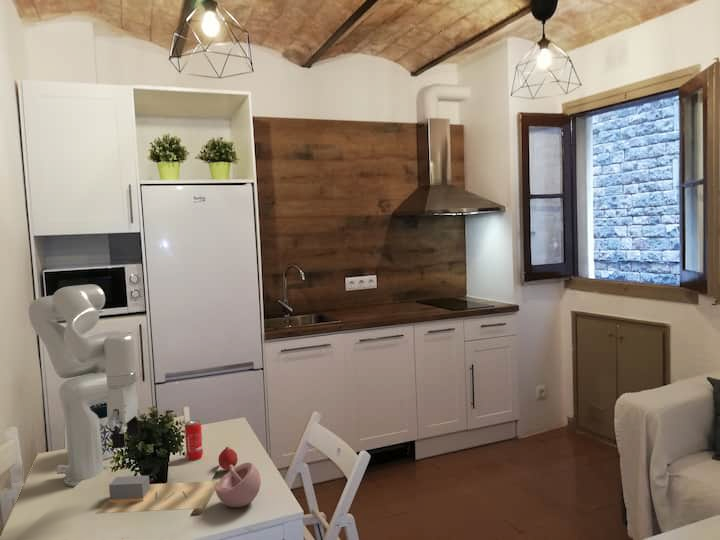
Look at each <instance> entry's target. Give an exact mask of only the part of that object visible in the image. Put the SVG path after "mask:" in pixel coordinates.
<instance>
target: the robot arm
mask: <svg viewBox="0 0 720 540" xmlns="http://www.w3.org/2000/svg"><path fill="white" fill-rule="evenodd" d="M105 303H106V296H105V292H104V291H103V289H102V288H101V287H100V286H99V285H97V284H93V283H92V284H89V283H88V284H79V285H71V286H64V287H61V288H59V289H57V290H56V291H55V292H54V293H53V294H52V295H48V296H47V295H46V296H41V297H38V298H36V299H34V300H32V301H31V303H30V304H29V307H28V318H29V321H30V323H31V324H30V325H31V326H32V327H31V328H33V330H34V332H35V333H36V335H37V336H38V338H39V339H40V340H41V341H42V343H43V344H44V347H45V348H46V351H47V353H48V357H49V359H50V361H51V364H52V367H53V370H54V372H55V374H56V375H57V377H59V378H60V379H68V380H66V381H65V382H63V383H62V384H61V385H60V387H59V389H58V397H59V401H60V405H61V408H62V413H63V418H64V427H65V428H64V429H65V438H66V439H65V440H66V448H67V450H66V451H67V463H68V464H58V465H57V468H56V473H57V475H62V474H63V475H65V476H64V478H63V483H64V484H65V485H66V486H69V487H77V486H78V484H80V483H81V482H82V481H84V480H88V479H89V480H90V479H92V478H95V477H98V476H100V475H101V474H102V473H103V472H104V471H107V470H110V468H109V467H107V466H105V465H104V460H103V456H102V443H101V430H100V420H99V418H98V416H97V415H96V414H95V413H94V412H93V411H92V410H91V409H90V408H92V407H93V406H96V405H100V404H103V403H106V406H107V420H108V424H109V427H110V428H109V429H110V431H111V434H112V445H113V448H124V447H125V448H126V435H125V434H124V432H125V431H124V432H123V428H124V429H125V425H126V427H127V428H126V429H127V435H128V436H136V435H138V436H139V435H140V433H141V431H140V430H141V429H140V415H139V412H140V409H139V407H140V402H139V400H138V399H139V397H138V390H137V384H138V379H137V377H138V375H137V364H136V354H135V353H136V352H135V340H134V336H133V335H131V334H129V333H124V332H122V331H120V330H112V331H111V330H110V331H105V332H99V333H92V334H91V333H90V334H87V335H85V334H86V333H87V332H90V331H91V330H92V329H93V328H95V326H96V325H97V324H98V322H99V319H100V313H99V311H100V310H102V309H103V308H104V307H105ZM63 321H65V322H66V323H67V324H66V326H63V325H61V324H60V323H59V322H63ZM116 421H119V422H116ZM116 425H120V428H119V427H118V426H116Z"/></svg>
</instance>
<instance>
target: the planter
mask: <svg viewBox="0 0 720 540" xmlns="http://www.w3.org/2000/svg"><path fill="white" fill-rule="evenodd" d="M90 409H91V410H92V411H93V412H94V413H95V414H96V415H97V416H98V418H99V420H100V430H101V443H102V456H103V461H105V460H108V459H112V458H114V457H113V451H114V450H115V449H116V448H109V447H108V445H109V444H112V434H111V431H110V429H109V428H110V427H109V424H108V420H107V405H100V406H99V405H98V406H95V407H93V406H92V407H90ZM116 422H119V421H116ZM116 426H118V427H119V428H120V425H116ZM123 432H125V427H124V428H123Z"/></svg>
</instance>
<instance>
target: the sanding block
mask: <svg viewBox="0 0 720 540" xmlns="http://www.w3.org/2000/svg"><path fill="white" fill-rule="evenodd" d="M150 484H151V483H150V475H149V474H148V475H130V476H127V475H126V476H116V477H115V478H114V479H113V480H112V482H111V483H109V485H108V487H109V488H108V489H109V490H108V491H109V498H110V503H117V502H138V501H144V500H145V499H146V497H147V496H148V495H149V494H150Z"/></svg>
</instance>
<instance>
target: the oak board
mask: <svg viewBox="0 0 720 540" xmlns="http://www.w3.org/2000/svg"><path fill="white" fill-rule="evenodd" d="M217 483H218V481H217V480H211V481H210V480H208V481H191V482H189V481H188V482H187V481H186V482H169V483H150V494H149V495H148V496H147V497H146V499H145V500H144V501H138V502H117V503H110V497H109V498H108V499H107V501H105V503H103V505H102V506H101V507H100V508H99V509H98V510H97V511H96V512H95V514H111V513H112V514H113V513H131V512H132V513H134V512H153V511H158V512H159V511H173V510H176V511H177V510H192V512H191V513H190V515H202V514H203V513H204V511H205V510H206V507H208V504H209V502H210V501H211V498H212V496H213V495H214V493H215V492H216V490H215V487H216V485H217Z"/></svg>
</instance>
